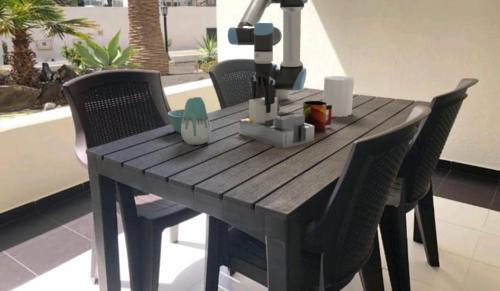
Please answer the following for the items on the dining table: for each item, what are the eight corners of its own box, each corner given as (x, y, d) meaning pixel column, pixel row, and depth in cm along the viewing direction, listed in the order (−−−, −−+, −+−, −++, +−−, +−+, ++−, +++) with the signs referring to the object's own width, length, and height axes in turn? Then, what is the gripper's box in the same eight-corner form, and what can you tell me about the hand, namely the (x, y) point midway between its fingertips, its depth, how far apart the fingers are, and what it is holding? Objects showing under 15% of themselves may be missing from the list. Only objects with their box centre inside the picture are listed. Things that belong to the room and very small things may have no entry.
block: (249, 121, 169) (249, 99, 166) (270, 116, 176) (271, 96, 173) (255, 123, 166) (255, 101, 163) (277, 118, 173) (277, 97, 170)
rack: (239, 133, 171) (238, 110, 168) (269, 127, 181) (269, 104, 178) (283, 148, 151) (284, 122, 148) (314, 140, 161) (315, 115, 158)
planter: (292, 102, 235) (292, 75, 230) (262, 102, 235) (262, 75, 231) (289, 96, 251) (290, 71, 247) (262, 96, 251) (262, 71, 247)
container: (339, 118, 197) (341, 81, 192) (316, 113, 208) (318, 78, 202) (357, 113, 207) (359, 78, 201) (334, 109, 217) (336, 75, 211)
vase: (178, 140, 162) (175, 95, 157) (206, 137, 166) (204, 93, 161) (185, 148, 152) (183, 101, 147) (215, 144, 156) (214, 98, 151)
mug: (331, 127, 181) (332, 100, 178) (320, 134, 170) (322, 106, 166) (310, 124, 186) (311, 98, 182) (299, 131, 174) (299, 103, 171)
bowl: (191, 124, 186) (190, 107, 184) (213, 131, 175) (212, 112, 173) (161, 131, 176) (160, 112, 173) (183, 138, 165) (182, 118, 162)
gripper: (242, 61, 168) (243, 116, 174) (270, 64, 155) (269, 124, 162) (256, 60, 172) (256, 114, 179) (284, 63, 159) (283, 121, 166)
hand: (262, 119), depth 170 cm, fingers closed on block, 4 cm apart
